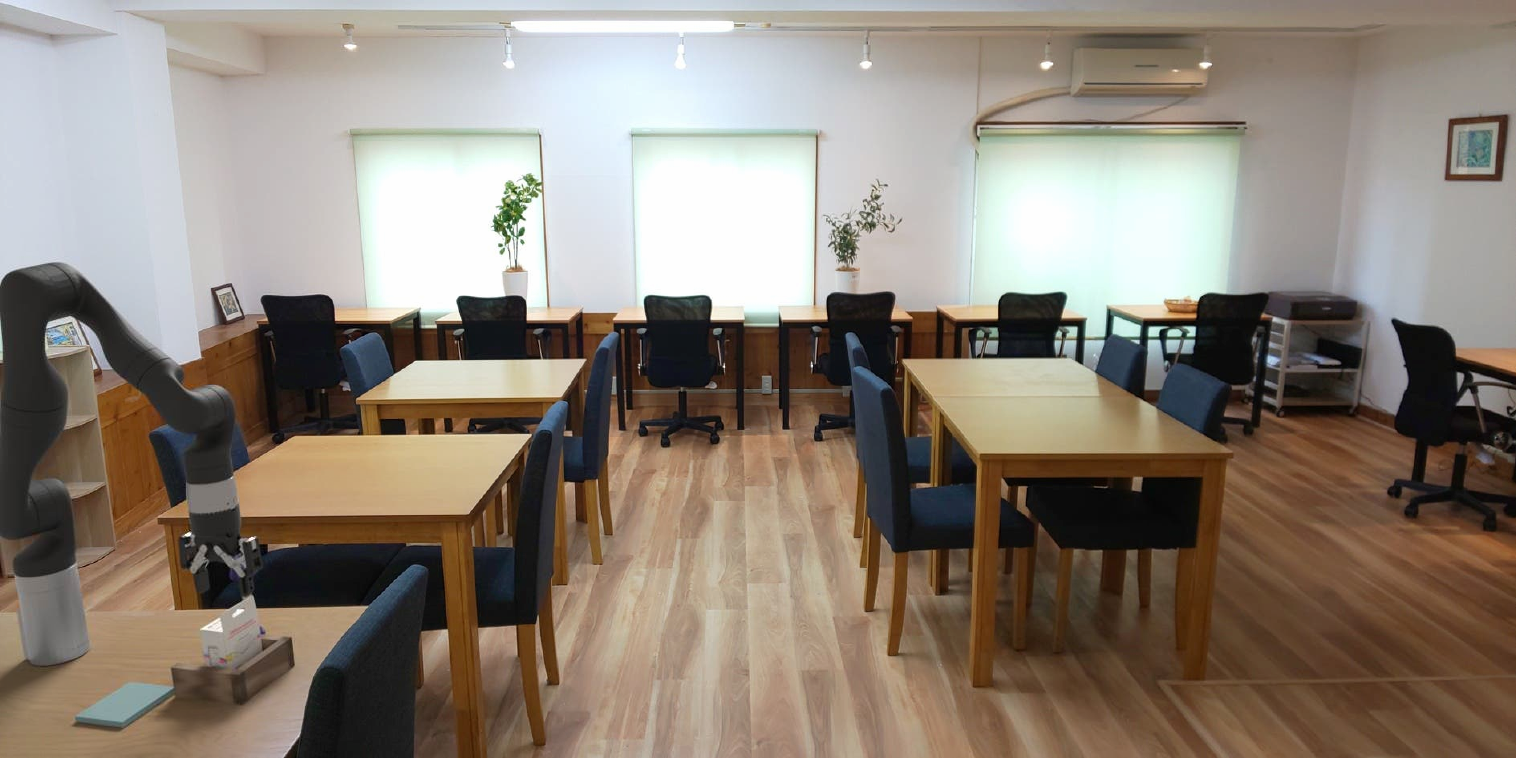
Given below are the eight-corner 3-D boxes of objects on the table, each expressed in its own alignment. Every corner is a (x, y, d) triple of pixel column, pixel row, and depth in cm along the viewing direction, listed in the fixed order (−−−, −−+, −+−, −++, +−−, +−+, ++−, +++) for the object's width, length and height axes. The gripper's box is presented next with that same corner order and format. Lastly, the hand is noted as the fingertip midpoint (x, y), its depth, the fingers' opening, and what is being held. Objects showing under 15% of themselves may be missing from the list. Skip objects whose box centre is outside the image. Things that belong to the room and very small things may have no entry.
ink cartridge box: (241, 667, 175) (232, 591, 172) (265, 670, 174) (256, 594, 171) (206, 691, 166) (195, 612, 163) (231, 694, 165) (221, 615, 162)
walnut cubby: (174, 696, 165) (170, 667, 164) (232, 658, 178) (228, 630, 177) (241, 704, 162) (238, 674, 161) (294, 664, 175) (291, 637, 174)
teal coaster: (75, 721, 157) (75, 716, 157) (131, 687, 168) (130, 681, 168) (123, 727, 156) (122, 722, 155) (175, 692, 166) (175, 687, 166)
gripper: (159, 508, 161) (172, 599, 164) (234, 513, 158) (246, 605, 161) (193, 494, 168) (205, 581, 171) (265, 499, 165) (276, 587, 169)
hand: (225, 593), depth 166 cm, fingers open, 8 cm apart
